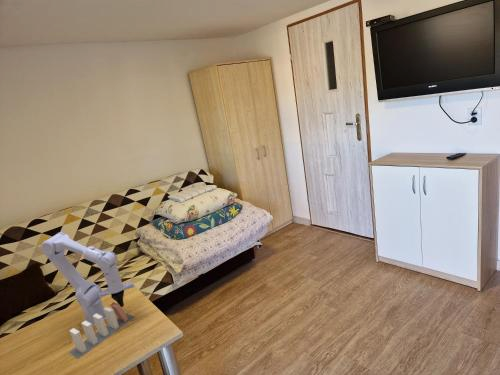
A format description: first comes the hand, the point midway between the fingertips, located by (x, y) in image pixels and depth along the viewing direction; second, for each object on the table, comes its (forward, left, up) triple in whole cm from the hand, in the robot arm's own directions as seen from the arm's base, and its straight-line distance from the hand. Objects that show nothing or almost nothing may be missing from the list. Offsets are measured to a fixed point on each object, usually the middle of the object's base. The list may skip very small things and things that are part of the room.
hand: (122, 305), depth 153 cm
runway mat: (0, -11, -7) cm, 13 cm away
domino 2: (0, -16, -6) cm, 17 cm away
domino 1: (0, -21, -6) cm, 22 cm away
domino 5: (0, -1, -6) cm, 6 cm away
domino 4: (0, -6, -6) cm, 9 cm away
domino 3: (0, -11, -6) cm, 13 cm away
